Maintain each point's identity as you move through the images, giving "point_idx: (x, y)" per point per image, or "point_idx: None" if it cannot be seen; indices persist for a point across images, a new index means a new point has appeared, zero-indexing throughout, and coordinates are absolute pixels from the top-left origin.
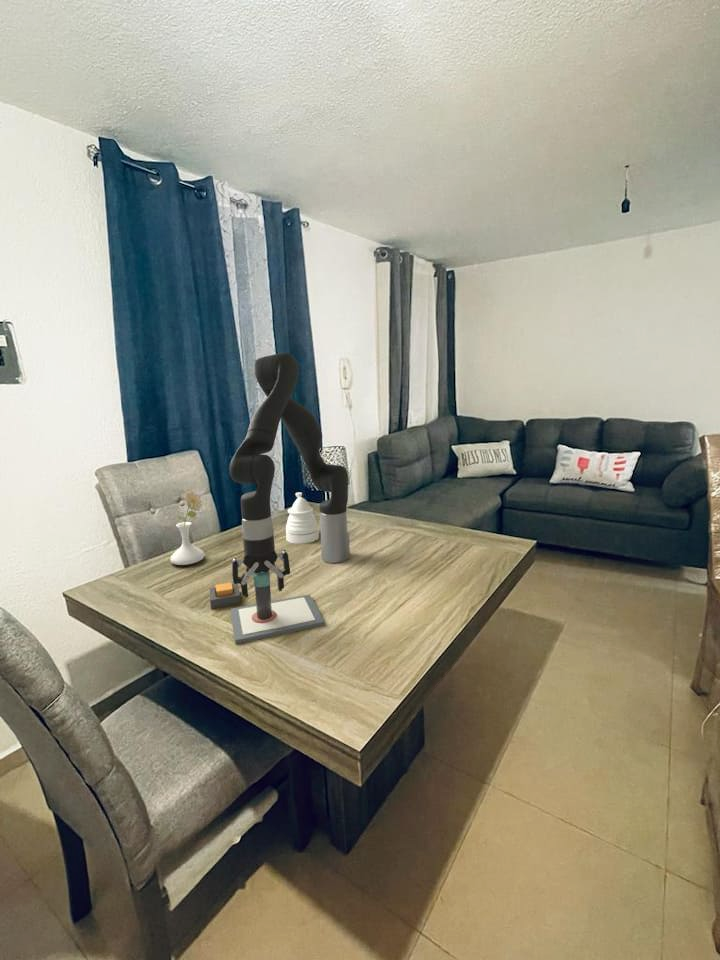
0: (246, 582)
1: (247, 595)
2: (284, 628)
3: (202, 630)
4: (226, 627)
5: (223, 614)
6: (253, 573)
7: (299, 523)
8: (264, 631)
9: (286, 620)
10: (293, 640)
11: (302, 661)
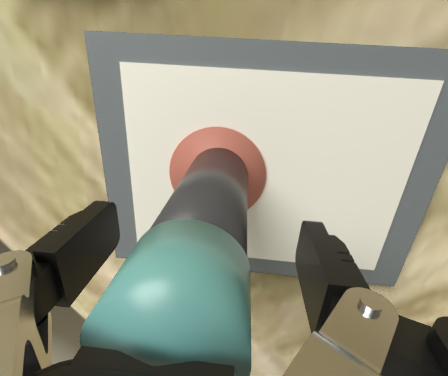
0: (60, 278)
1: (109, 250)
2: (263, 266)
3: (9, 133)
4: (88, 151)
5: (64, 39)
6: (81, 333)
7: None
8: None
9: (284, 234)
10: (272, 298)
11: (263, 363)
